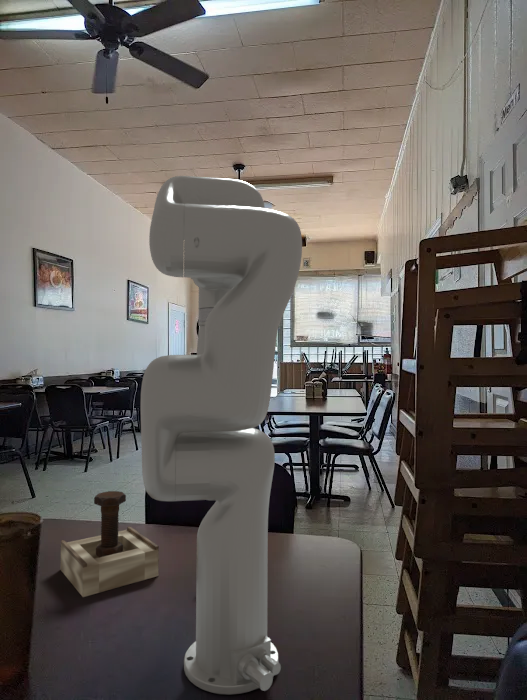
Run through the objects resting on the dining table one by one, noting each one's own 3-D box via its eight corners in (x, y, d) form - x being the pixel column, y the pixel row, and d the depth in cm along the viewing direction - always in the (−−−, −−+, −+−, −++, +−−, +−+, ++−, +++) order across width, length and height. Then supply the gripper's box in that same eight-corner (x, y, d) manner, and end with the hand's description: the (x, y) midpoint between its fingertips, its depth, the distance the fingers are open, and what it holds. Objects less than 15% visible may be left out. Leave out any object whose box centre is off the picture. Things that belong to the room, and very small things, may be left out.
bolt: (113, 581, 90) (114, 499, 90) (89, 578, 91) (90, 497, 91) (128, 568, 96) (129, 491, 96) (104, 566, 97) (105, 489, 97)
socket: (158, 575, 92) (158, 546, 92) (82, 597, 84) (83, 564, 84) (129, 552, 103) (129, 526, 103) (60, 569, 95) (60, 540, 95)
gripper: (256, 316, 95) (256, 404, 95) (210, 322, 109) (210, 399, 109) (224, 314, 91) (223, 406, 90) (180, 320, 105) (179, 400, 104)
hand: (216, 402), depth 100 cm, fingers open, 9 cm apart
